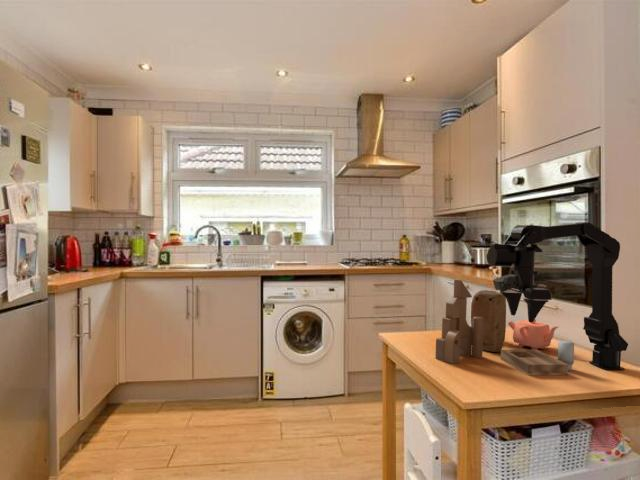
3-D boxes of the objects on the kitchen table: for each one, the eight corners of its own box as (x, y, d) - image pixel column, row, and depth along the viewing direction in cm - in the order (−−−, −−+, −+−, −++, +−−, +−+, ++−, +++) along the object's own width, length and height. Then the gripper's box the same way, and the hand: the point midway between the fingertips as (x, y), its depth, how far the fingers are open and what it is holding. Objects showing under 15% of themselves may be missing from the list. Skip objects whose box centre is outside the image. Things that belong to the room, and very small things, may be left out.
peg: (566, 366, 118) (567, 340, 118) (576, 371, 114) (577, 344, 113) (553, 366, 117) (554, 340, 117) (563, 371, 113) (564, 344, 113)
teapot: (511, 349, 134) (513, 320, 134) (506, 340, 146) (507, 313, 145) (558, 354, 130) (559, 324, 130) (549, 345, 141) (550, 317, 141)
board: (536, 359, 124) (536, 349, 124) (567, 375, 110) (568, 364, 110) (500, 358, 123) (501, 349, 123) (527, 375, 109) (528, 364, 109)
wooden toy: (452, 364, 116) (455, 282, 116) (435, 358, 122) (437, 279, 121) (484, 357, 124) (487, 280, 124) (466, 351, 130) (469, 277, 130)
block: (507, 351, 132) (509, 292, 132) (495, 354, 128) (497, 294, 127) (477, 343, 141) (480, 288, 140) (465, 346, 136) (467, 289, 136)
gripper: (482, 263, 125) (480, 311, 125) (515, 269, 106) (512, 325, 106) (515, 264, 125) (514, 312, 126) (554, 270, 107) (551, 326, 107)
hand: (521, 318), depth 116 cm, fingers open, 9 cm apart
